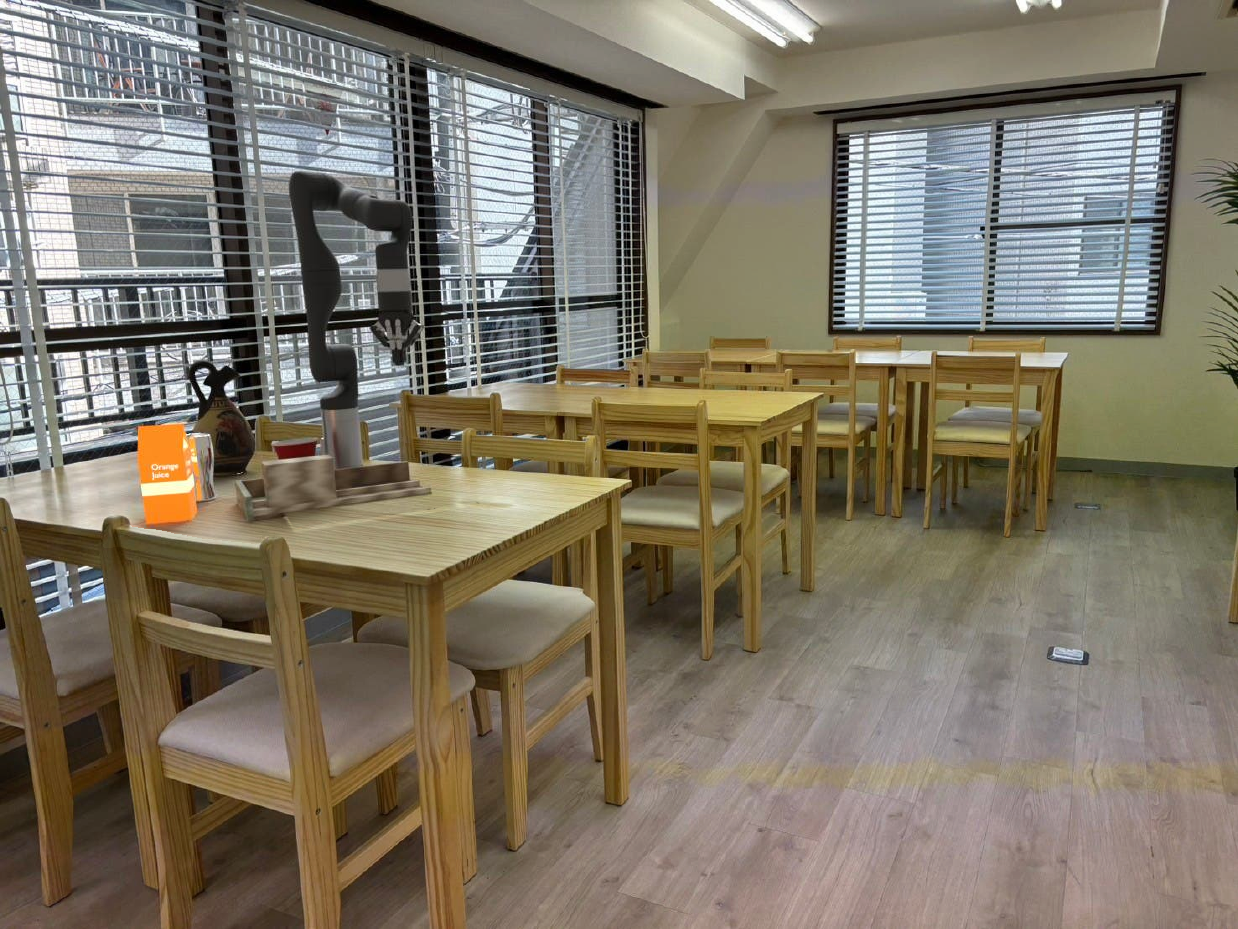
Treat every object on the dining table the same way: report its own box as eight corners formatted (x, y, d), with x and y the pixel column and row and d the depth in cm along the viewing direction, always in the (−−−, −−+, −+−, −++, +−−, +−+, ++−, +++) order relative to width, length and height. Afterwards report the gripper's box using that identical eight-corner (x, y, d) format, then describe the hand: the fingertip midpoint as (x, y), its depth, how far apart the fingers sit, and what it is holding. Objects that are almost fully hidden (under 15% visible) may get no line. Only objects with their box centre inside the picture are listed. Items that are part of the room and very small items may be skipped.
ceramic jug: (252, 465, 251) (240, 356, 246) (262, 474, 238) (250, 359, 233) (185, 473, 243) (171, 360, 237) (192, 482, 230) (177, 364, 224)
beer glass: (212, 494, 216) (204, 431, 213) (223, 498, 211) (216, 434, 208) (181, 499, 211) (173, 435, 208) (192, 503, 206) (184, 438, 203)
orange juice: (192, 520, 191) (180, 426, 187) (145, 524, 189) (133, 429, 185) (197, 511, 198) (186, 421, 195) (153, 515, 196) (141, 424, 192)
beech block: (269, 511, 193) (265, 465, 191) (266, 507, 197) (261, 461, 195) (337, 502, 200) (333, 457, 198) (332, 498, 204) (328, 454, 202)
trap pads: (304, 499, 204) (304, 498, 204) (299, 493, 210) (299, 492, 210) (393, 488, 213) (393, 486, 213) (385, 482, 219) (385, 481, 219)
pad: (252, 506, 199) (252, 504, 199) (248, 500, 205) (248, 498, 205) (290, 501, 202) (290, 499, 202) (285, 495, 208) (285, 494, 208)
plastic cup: (304, 481, 227) (300, 434, 225) (332, 486, 221) (327, 437, 219) (266, 490, 219) (261, 440, 216) (293, 494, 212) (288, 444, 210)
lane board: (247, 521, 189) (245, 496, 188) (237, 503, 205) (234, 480, 204) (432, 496, 207) (430, 474, 206) (408, 481, 223) (407, 460, 222)
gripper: (427, 288, 211) (432, 363, 214) (374, 290, 213) (380, 364, 217) (414, 289, 203) (419, 366, 207) (359, 290, 206) (365, 367, 209)
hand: (399, 365), depth 212 cm, fingers closed
